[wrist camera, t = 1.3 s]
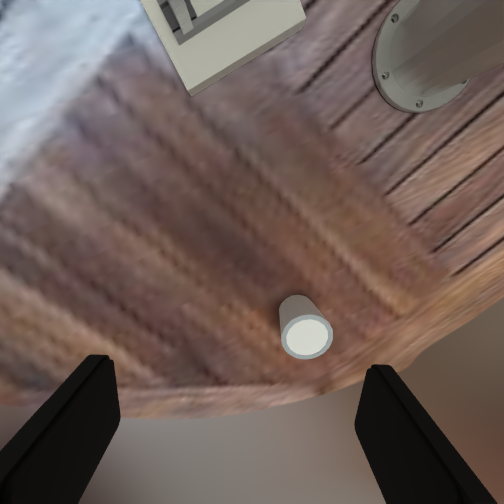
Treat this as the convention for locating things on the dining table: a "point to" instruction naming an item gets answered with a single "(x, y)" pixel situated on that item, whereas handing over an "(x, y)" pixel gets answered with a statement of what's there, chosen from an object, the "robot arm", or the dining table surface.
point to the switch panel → (224, 35)
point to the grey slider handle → (179, 15)
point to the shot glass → (303, 328)
